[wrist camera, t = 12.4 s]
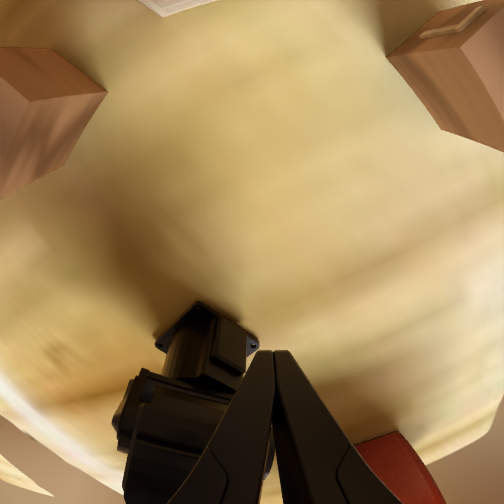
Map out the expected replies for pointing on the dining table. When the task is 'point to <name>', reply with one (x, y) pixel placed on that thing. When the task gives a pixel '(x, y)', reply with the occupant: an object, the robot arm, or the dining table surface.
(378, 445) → the plant pot
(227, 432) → the robot arm
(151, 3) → the small box
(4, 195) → the walnut block one
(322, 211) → the dining table surface
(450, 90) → the walnut block seven
